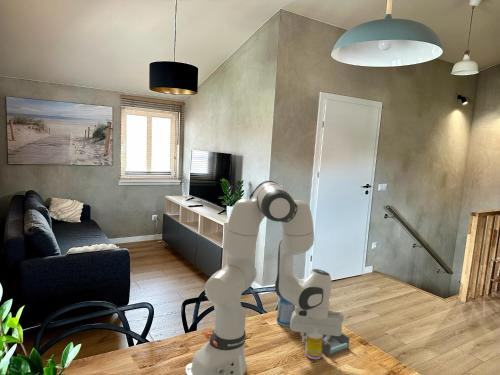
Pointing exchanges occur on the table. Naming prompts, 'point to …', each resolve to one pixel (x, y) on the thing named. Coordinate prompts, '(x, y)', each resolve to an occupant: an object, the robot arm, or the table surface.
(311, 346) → the supplement bottle
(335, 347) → the pusher lane
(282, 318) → the beverage bottle
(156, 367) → the table surface
